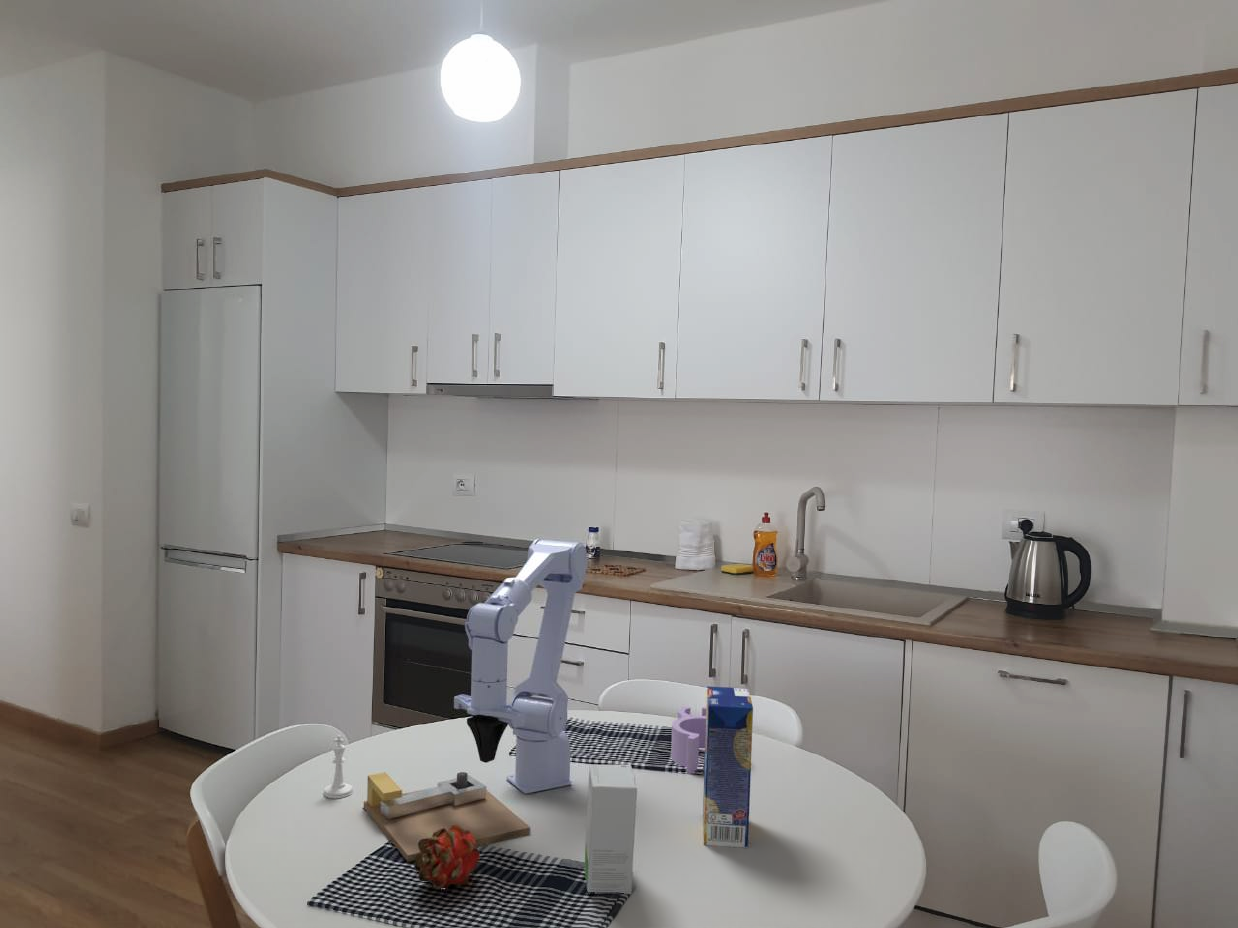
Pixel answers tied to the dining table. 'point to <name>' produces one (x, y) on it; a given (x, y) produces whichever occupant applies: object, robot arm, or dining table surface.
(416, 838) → the board
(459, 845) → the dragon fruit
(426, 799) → the link
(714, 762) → the beverage box
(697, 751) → the clip
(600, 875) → the skincare box
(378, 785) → the block
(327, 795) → the chess piece
